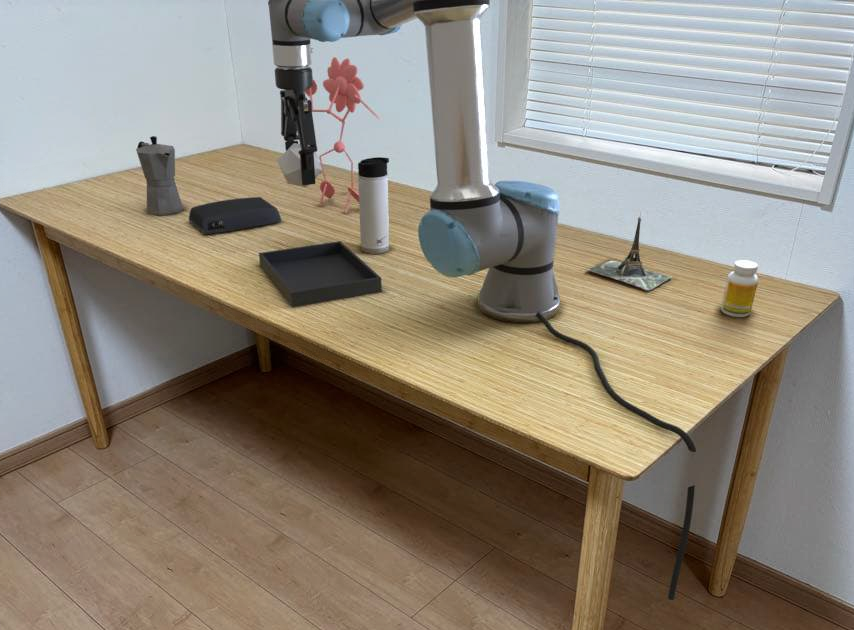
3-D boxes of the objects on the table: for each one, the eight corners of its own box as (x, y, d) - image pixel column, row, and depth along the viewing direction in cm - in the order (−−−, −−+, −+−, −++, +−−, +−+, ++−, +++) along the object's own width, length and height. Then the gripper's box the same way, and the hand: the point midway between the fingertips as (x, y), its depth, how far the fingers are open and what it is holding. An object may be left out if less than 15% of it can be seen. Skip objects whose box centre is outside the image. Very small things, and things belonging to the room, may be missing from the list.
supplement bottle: (716, 306, 153) (726, 258, 148) (744, 306, 152) (755, 258, 148) (725, 317, 148) (736, 269, 143) (754, 318, 148) (766, 269, 143)
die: (331, 186, 174) (319, 142, 174) (316, 175, 165) (304, 129, 166) (296, 199, 176) (284, 155, 176) (279, 188, 167) (267, 143, 167)
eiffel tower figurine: (585, 272, 167) (592, 209, 160) (611, 260, 173) (619, 199, 166) (648, 292, 158) (659, 227, 151) (674, 278, 164) (685, 215, 157)
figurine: (367, 221, 194) (361, 66, 176) (295, 200, 209) (284, 55, 191) (408, 206, 205) (407, 59, 187) (337, 188, 219) (330, 49, 201)
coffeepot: (195, 212, 200) (184, 137, 190) (160, 220, 194) (147, 144, 185) (165, 198, 209) (153, 127, 200) (131, 206, 204) (117, 133, 194)
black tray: (381, 291, 157) (381, 277, 156) (292, 307, 151) (291, 292, 149) (341, 253, 175) (340, 240, 174) (260, 266, 169) (258, 252, 167)
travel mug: (386, 255, 175) (384, 162, 164) (357, 253, 176) (353, 160, 165) (393, 245, 180) (392, 155, 170) (365, 243, 181) (362, 153, 171)
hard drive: (187, 221, 193) (185, 204, 191) (263, 209, 202) (261, 193, 200) (204, 237, 184) (202, 219, 182) (283, 223, 192) (281, 207, 190)
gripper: (329, 74, 153) (335, 189, 165) (294, 58, 171) (302, 163, 182) (291, 76, 150) (300, 193, 162) (259, 60, 168) (269, 167, 179)
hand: (301, 177), depth 172 cm, fingers closed on die, 10 cm apart
